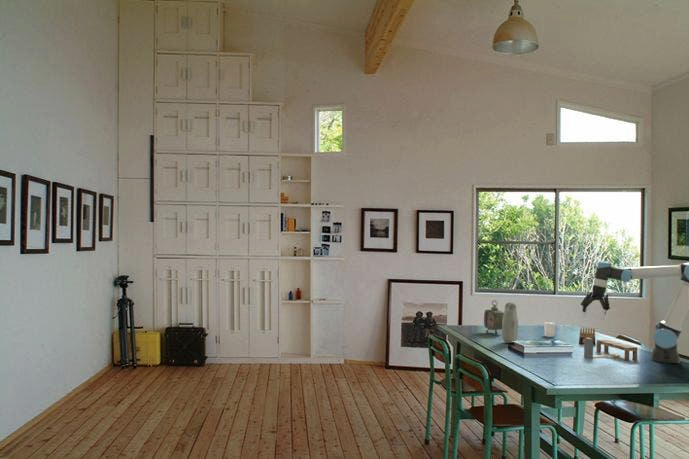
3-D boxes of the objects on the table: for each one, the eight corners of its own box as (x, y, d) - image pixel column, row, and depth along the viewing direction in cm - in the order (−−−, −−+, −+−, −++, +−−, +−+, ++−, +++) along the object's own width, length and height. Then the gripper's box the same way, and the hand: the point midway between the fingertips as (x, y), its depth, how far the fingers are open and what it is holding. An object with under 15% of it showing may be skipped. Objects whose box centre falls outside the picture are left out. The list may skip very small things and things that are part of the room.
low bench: (637, 360, 315) (637, 347, 315) (626, 361, 313) (627, 347, 313) (606, 351, 338) (606, 339, 338) (596, 352, 335) (596, 339, 335)
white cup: (552, 335, 391) (552, 322, 391) (557, 337, 383) (557, 323, 383) (542, 335, 391) (542, 321, 391) (546, 337, 383) (546, 323, 383)
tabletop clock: (483, 332, 395) (484, 299, 395) (493, 331, 398) (494, 299, 398) (494, 335, 381) (495, 301, 381) (505, 335, 384) (506, 301, 384)
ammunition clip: (594, 344, 361) (594, 327, 361) (595, 345, 359) (596, 327, 359) (578, 343, 362) (579, 326, 362) (579, 344, 360) (580, 327, 360)
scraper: (590, 358, 315) (590, 339, 315) (582, 356, 321) (583, 337, 321) (613, 357, 321) (613, 338, 321) (605, 355, 326) (606, 336, 327)
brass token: (621, 357, 324) (621, 355, 324) (616, 357, 322) (616, 355, 322) (616, 355, 328) (616, 353, 328) (610, 356, 327) (610, 354, 327)
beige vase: (498, 342, 358) (499, 301, 358) (510, 341, 361) (512, 301, 362) (508, 345, 349) (509, 303, 349) (520, 344, 352) (521, 303, 352)
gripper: (611, 286, 333) (604, 318, 334) (579, 282, 326) (572, 314, 328) (620, 289, 325) (613, 321, 327) (587, 284, 319) (580, 317, 321)
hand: (592, 318), depth 328 cm, fingers open, 13 cm apart
